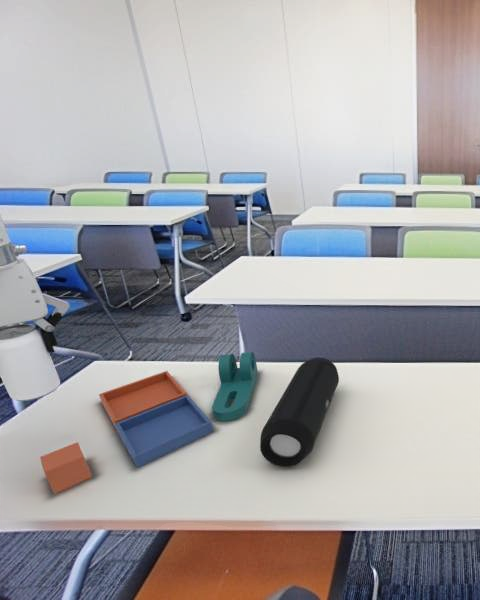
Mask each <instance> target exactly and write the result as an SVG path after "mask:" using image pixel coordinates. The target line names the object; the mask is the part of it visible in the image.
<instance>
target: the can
mask: <svg viewBox="0 0 480 600" xmlns="http://www.w3.org/2000/svg"><path fill="white" fill-rule="evenodd" d="M0 379H1V381H2V383H3V386H4V387H5V390H6V392H7V394H8V396H9V398H10V399H11V400H14V401H17V402H18V401H19V402H27V401H34V400H36V399H40V398H44V397H46V396H48V395H50V394H52V393H54V392H55V391H57V389H58V388H59V387H60V385H61V380H60V377H59V374H58V371H57V369H56V367H55V364H54V361H53V359H52V356H51V353H49V351H48V349H47V346H46V344H45V341H44V339H43V336H42V334H41V331H40V330H38V329H37V328H36V326H35V325H34V324H31V323H19V324H14V325H10V326H5V327H0Z"/></svg>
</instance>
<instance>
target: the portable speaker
mask: <svg viewBox="0 0 480 600" xmlns="http://www.w3.org/2000/svg"><path fill="white" fill-rule="evenodd" d="M339 377H340V376H339V372H338V367H337V366H336V365H335V364H334V363H333V362H332V361H331V360H329V359H328V358H325V357H313V358H310V359H308V360H306V361H304V362H303V363H302V364H300V366H299V367H298V368H297V370H296V371H295V373H294V375H293V376H292V378H291V379H290V382H288V383H289V384H288V385H287V387H286V388H285V390H284V392H283V393H282V395H281V397H280V399H279V401H278V402H277V403H276V405H275V407H274V409H273V411H272V413H270V416H269V418H268V419H267V421H266V423H265V424H264V426H263V428H262V430H261V432H260V440H259V441H260V442H259V451H260V453H261V455H262V456H263V458H264V459H265V460H266V461H267V462H268V463H270V464H273V465H274V466H277V467H282V468H283V467H284V468H288V467H289V468H290V467H294V466H296V465H298V464H301V462H303V461H304V460H305V459H306V458H307V457H308V456H309V455H310V454H311V453H312V452H313V449H314V446H315V443H316V441H317V439H318V436H319V433H320V431H321V429H322V426H323V423H324V420H325V418H326V415H327V412H328V410H329V407H330V405H331V402H332V400H333V397H334V395H335V392H336V390H337V387H338V385H339V382H340V378H339Z"/></svg>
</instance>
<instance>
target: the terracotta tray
mask: <svg viewBox="0 0 480 600" xmlns="http://www.w3.org/2000/svg"><path fill="white" fill-rule="evenodd" d="M186 395H188V394H187V392H186V391H185V390H184V389H183V388H182V387H181V385H180V384H179V383H178V381H176V380H175V378H174V377H173V376H172V375H171V374H170V372H169V371H168V370H165V371H161V372H159V373H156V374H153V375H151V376H148V377H144V378H142V379H140V380H136V381H132V382H130V383H127V384H125V385H122V386H119V387H116V388H112V389H110V390H108V391H104V392H102V393H99V394H98V397H99V398H100V402H101V404H102V406H103V407H104V409H105V411H106V413H107V415H108V416H109V419H110V420H111V422H112V424H113V426H114V428H115V429H116V431H117V428H116V425H115V423H118V422H120V421H123V420H126V419H128V418H131V417H133V416H136V415H138V414H141V413H143V412H146V411H148V410H151V409H153V408H156V407H158V406H161V405H164V404H166V403H169V402H171V401H174V400H176V399H179V398H181V397H184V396H186Z"/></svg>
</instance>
